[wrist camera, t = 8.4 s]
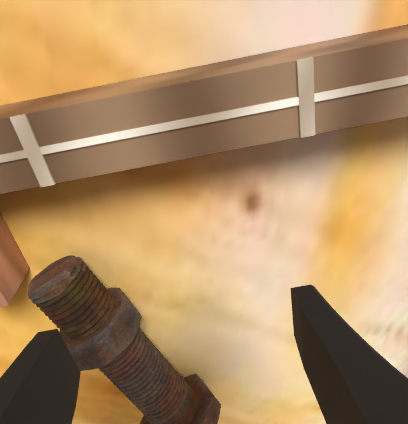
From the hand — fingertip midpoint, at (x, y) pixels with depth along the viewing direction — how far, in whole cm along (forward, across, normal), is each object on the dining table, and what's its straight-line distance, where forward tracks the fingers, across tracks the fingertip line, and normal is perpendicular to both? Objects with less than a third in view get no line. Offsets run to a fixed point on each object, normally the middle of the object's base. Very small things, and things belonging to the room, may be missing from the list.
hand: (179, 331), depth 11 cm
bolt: (+10, +5, +10) cm, 15 cm away
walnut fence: (+9, -2, -1) cm, 10 cm away
